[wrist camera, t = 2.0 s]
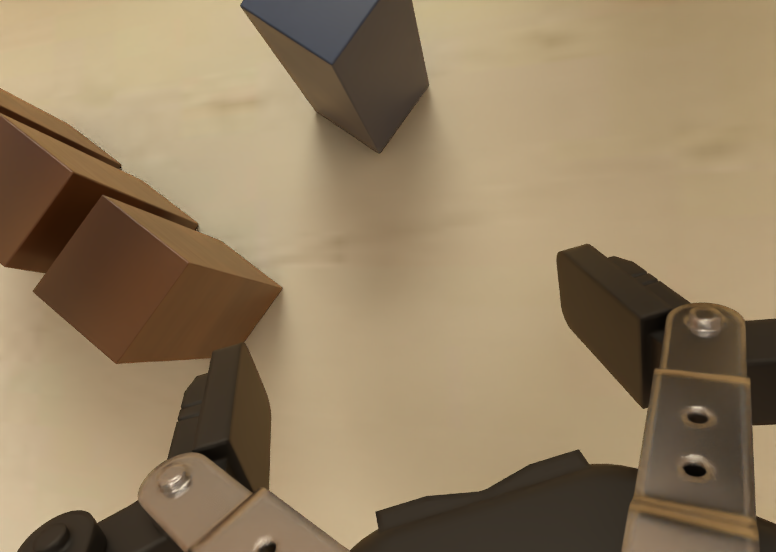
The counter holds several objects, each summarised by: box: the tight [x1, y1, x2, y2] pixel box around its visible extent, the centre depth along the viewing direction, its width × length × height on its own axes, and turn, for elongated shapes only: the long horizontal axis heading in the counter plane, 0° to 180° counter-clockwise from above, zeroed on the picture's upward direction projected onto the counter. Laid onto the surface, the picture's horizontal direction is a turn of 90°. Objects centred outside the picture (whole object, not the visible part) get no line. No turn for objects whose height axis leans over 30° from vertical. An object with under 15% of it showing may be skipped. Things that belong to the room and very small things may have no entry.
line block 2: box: [0, 113, 198, 273], centre depth 27 cm, size 5×5×10 cm
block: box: [240, 0, 429, 153], centre depth 26 cm, size 5×5×10 cm
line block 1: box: [0, 88, 121, 169], centre depth 28 cm, size 5×5×10 cm
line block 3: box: [33, 195, 282, 364], centre depth 26 cm, size 5×5×10 cm
